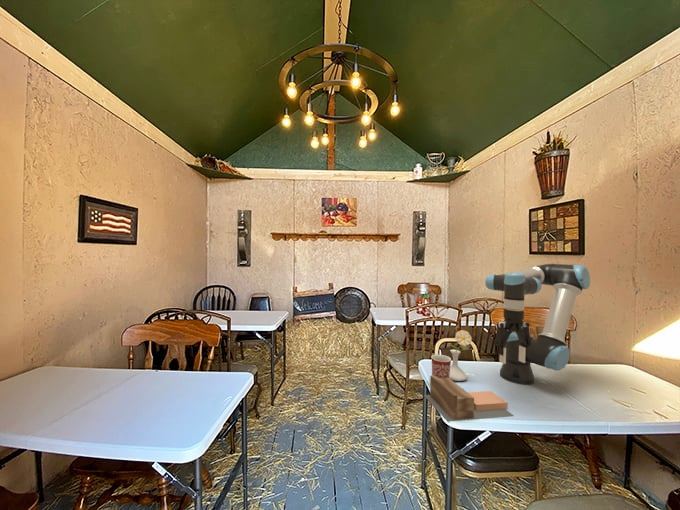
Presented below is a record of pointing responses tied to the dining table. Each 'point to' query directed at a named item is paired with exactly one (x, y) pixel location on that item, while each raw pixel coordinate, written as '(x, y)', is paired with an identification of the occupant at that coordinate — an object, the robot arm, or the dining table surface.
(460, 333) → the flower in vase
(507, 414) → the mat
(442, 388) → the grooved wooden block
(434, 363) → the mug
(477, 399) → the tile
